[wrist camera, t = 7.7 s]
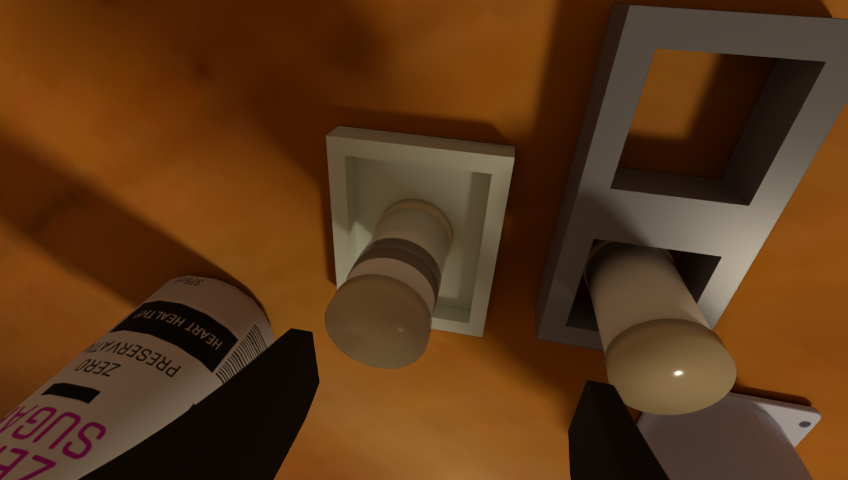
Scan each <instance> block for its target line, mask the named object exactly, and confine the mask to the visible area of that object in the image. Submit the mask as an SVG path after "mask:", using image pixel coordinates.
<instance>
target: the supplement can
mask: <svg viewBox="0 0 848 480" xmlns="http://www.w3.org/2000/svg"><path fill="white" fill-rule="evenodd" d="M273 343H274V335H273V333H272V331H271V326H270V324H269V322H268V320H267V317H266V315H265V313H264V312H263V311H262V309H261V308H260V307H259V306H258V305H257V304H256V302H255V301H254V300H253V299H252V298H251V297H249V296H248V295H246V294H245V293H244V292H242V291H241V290H240V289H238V288H237V287H235V286H233V285H230V284H228V283H226V282H223V281H221V280H219V279H214V278H206V277H196V276H189V275H187V276H183V277H178V278H173V279H170V280H169V281H168V282H167V283H165V284H164V285H163V286H162V287H161V288H159V289H158V290H157V291H156V292H155V293H153V294H152V295H151V296H150V297H149V298H147V299H146V300H145V301H144V302H143V303H141V304H140V305H139V306H138V307H137V308H135V309H134V310H133V311H132V312H131V313H129V314H128V315H127V316H126V317H125V318H123V319H122V320H121V321H120V322H119V323H117V324H116V325H115V326H114V327H113V328H111V329H110V330H109V331H108V332H107V333H105V334H104V335H103V336H102V337H101V338H99V339H98V340H97V341H96V342H95V343H93V344H92V345H91V346H90V347H89V348H87V349H86V350H85V351H84V352H83V353H81V354H80V355H79V356H78V357H77V358H75V359H74V360H73V361H72V362H71V363H69V364H68V365H67V366H66V367H65V368H63V369H62V370H61V371H60V372H59V373H57V374H56V375H55V376H54V377H53V378H51V379H50V380H49V381H48V382H46V383H45V384H44V385H43V386H42V387H40V388H39V389H38V390H37V391H36V392H34V393H33V394H32V395H31V396H30V397H28V398H27V399H26V400H25V401H24V402H22V403H21V404H20V405H19V406H18V407H16V408H15V409H14V410H13V411H12V412H10V413H9V414H8V415H7V416H6V417H4V418H3V419H2V420H1V421H0V480H78V479H80V478H81V477H83V476H85V475H86V474H88V473H90V472H92V471H93V470H95V469H97V468H99V467H100V466H102V465H104V464H105V463H107V462H109V461H111V460H112V459H114V458H116V457H117V456H119V455H121V454H122V453H124V452H126V451H127V450H129V449H131V448H132V447H134V446H136V445H137V444H139V443H140V442H142V441H143V440H145V439H146V438H148V437H150V436H151V435H153V434H154V433H156V432H157V431H159V430H160V429H162V428H163V427H165V426H166V425H168V424H169V423H171V422H172V421H173V420H175V419H176V418H178V417H179V416H181V415H182V414H183V413H185V412H186V411H188V410H189V409H190V408H192V407H193V406H194V405H196V404H197V403H198V402H200V401H201V400H203V399H204V398H205V397H207V396H208V395H209V394H211V393H212V392H213V391H215V390H216V389H217V388H219V387H220V386H221V385H222V384H224V383H225V382H226V381H227V380H229V379H230V378H231V377H232V376H234V375H235V374H236V373H237V372H239V371H240V370H241V369H242V368H244V367H245V366H246V365H247V364H249V363H250V362H251V361H252V360H253V359H255V358H256V357H257V356H258V355H259V354H261V353H262V352H263V351H264V350H265V349H267V348H268V347H269V346H270V345H271V344H273Z"/></svg>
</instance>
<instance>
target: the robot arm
mask: <svg viewBox="0 0 848 480" xmlns="http://www.w3.org/2000/svg"><path fill="white" fill-rule="evenodd" d="M318 385H319V376H318V369H317V362H316V355H315V348H314V341H313V334H312V332H310V331H304V330H298V329H293V328H291V329H290V330H288V331H287V332H286V333H285V334H283V335H282V336H281V337H280V338H279V339H277V340H276V341H275V342H274V343H273V344H271V345H270V346H269V347H268V348H267V349H265V350H264V351H263V352H262V353H261V354H259V355H258V356H257V357H256V358H255V359H253V360H252V361H251V362H250V363H249V364H247V365H246V366H245V367H244V368H242V369H241V370H240V371H239V372H237V373H236V374H235V375H234V376H232V377H231V378H230V379H229V380H227V381H226V382H225V383H224V384H222V385H221V386H220V387H219V388H217V389H216V390H215V391H213V392H212V393H211V394H209V395H208V396H207V397H205V398H204V399H203V400H201V401H200V402H198V403H197V404H196V405H194V406H193V407H192V408H190V409H189V410H188V411H186V412H185V413H183V414H182V415H181V416H179V417H178V418H176V419H175V420H173V421H172V422H171V423H169V424H168V425H166V426H165V427H163V428H162V429H160V430H159V431H157V432H156V433H154V434H153V435H151V436H150V437H148V438H146V439H145V440H143V441H142V442H140V443H139V444H137V445H136V446H134V447H132V448H131V449H129V450H127V451H126V452H124V453H122V454H121V455H119V456H117V457H116V458H114V459H112V460H111V461H109V462H107V463H105V464H104V465H102V466H100V467H99V468H97V469H95V470H93V471H92V472H90V473H88V474H86V475H85V476H83V477H81V478H80V479H78V480H274V478H275V476H276V474H277V472H278V470H279V468H280V466H281V465H282V463H283V461H284V459H285V457H286V455H287V453H288V451H289V449H290V448H291V446H292V444H293V442H294V440H295V438H296V436H297V434H298V432H299V430H300V428H301V426H302V424H303V422H304V420H305V419H306V416H307V414H308V411H309V409H310V406H311V404H312V401H313V398H314V396H315V393H316V390H317V388H318ZM820 419H821V415H820V413H819V412H818V410H817V409H815V408H813V407H809V406H803V405H798V404H792V403H787V402H781V401H776V400H770V399H765V398H759V397H754V396H748V395H743V394H737V393H731V392H728V393H727V394H726V395H725V396H724V397H723V398H722V399H721V400H719V401H718V402H716V403H714V404H713V405H711V406H709V407H706V408H704V409H701V410H698V411H695V412H691V413H686V414H678V415H659V414H651V413H647V412H643V413H642V415H641V417H640V419H639V420H638V422H637V424H636V423H635V421H634V420H633V418H632V416H631V414H630V413H629V411H628V409H627V407H626V405H625V404H624V402H623V400H622V398H621V396H620V395H619V393H618V391H617V389H616V388H615V387H614V385H612V384H606V383H600V382H594V381H589V380H587V382H586V385H585V387H584V390H583V393H582V395H581V398H580V401H579V403H578V406H577V409H576V411H575V414H574V417H573V419H572V422H571V425H570V428H569V430H568V436H569V461H570V476H571V480H813V478H812V476H811V475H810V473H809V471H808V470H807V468H806V467H805V465H804V463H803V462H802V460H801V458H800V457H799V455H798V453H797V452H796V450H795V449H794V447H795V446H796V445H797V444H798V443H799V442H800V441H801V440H802V439H803V438H804V437H805V436H806V434H807V433H808V432H809V431H810V430H811V429H812V428H813V427H814V426H815V425H816V424H817V423H818V422H819V420H820Z"/></svg>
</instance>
